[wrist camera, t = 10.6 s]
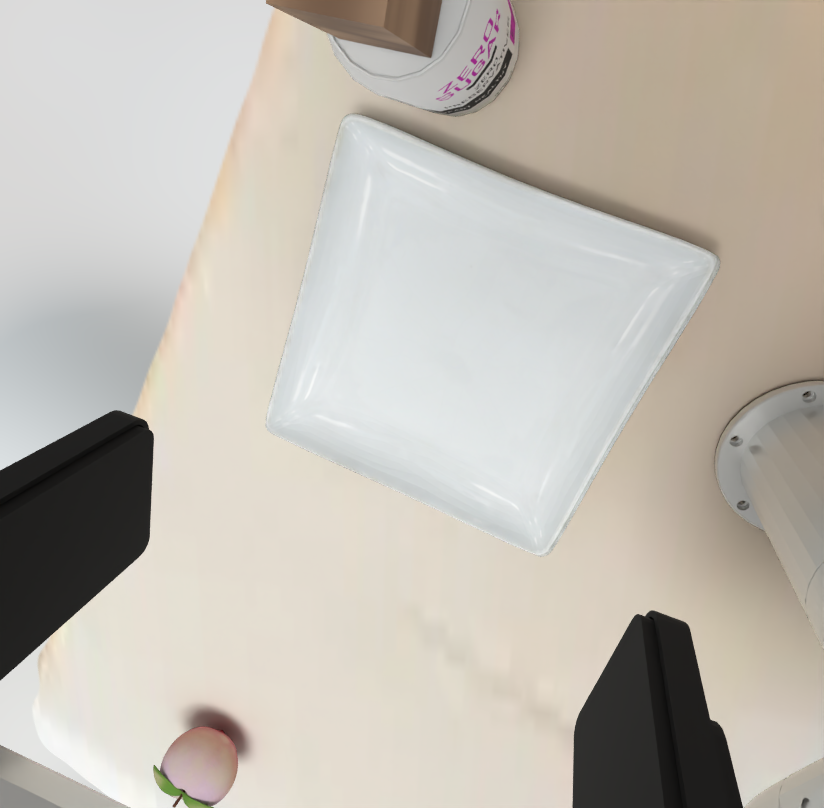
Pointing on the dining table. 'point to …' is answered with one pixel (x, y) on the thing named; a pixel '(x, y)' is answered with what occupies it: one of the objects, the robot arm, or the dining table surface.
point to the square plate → (474, 333)
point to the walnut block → (372, 21)
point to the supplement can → (443, 60)
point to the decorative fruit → (198, 767)
